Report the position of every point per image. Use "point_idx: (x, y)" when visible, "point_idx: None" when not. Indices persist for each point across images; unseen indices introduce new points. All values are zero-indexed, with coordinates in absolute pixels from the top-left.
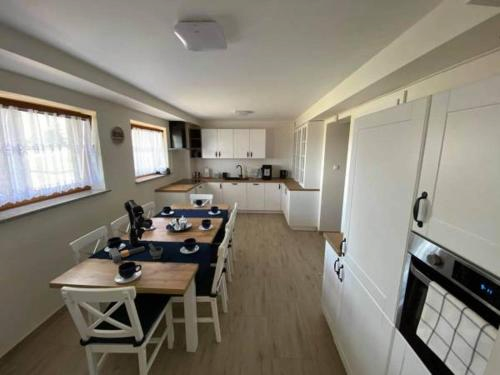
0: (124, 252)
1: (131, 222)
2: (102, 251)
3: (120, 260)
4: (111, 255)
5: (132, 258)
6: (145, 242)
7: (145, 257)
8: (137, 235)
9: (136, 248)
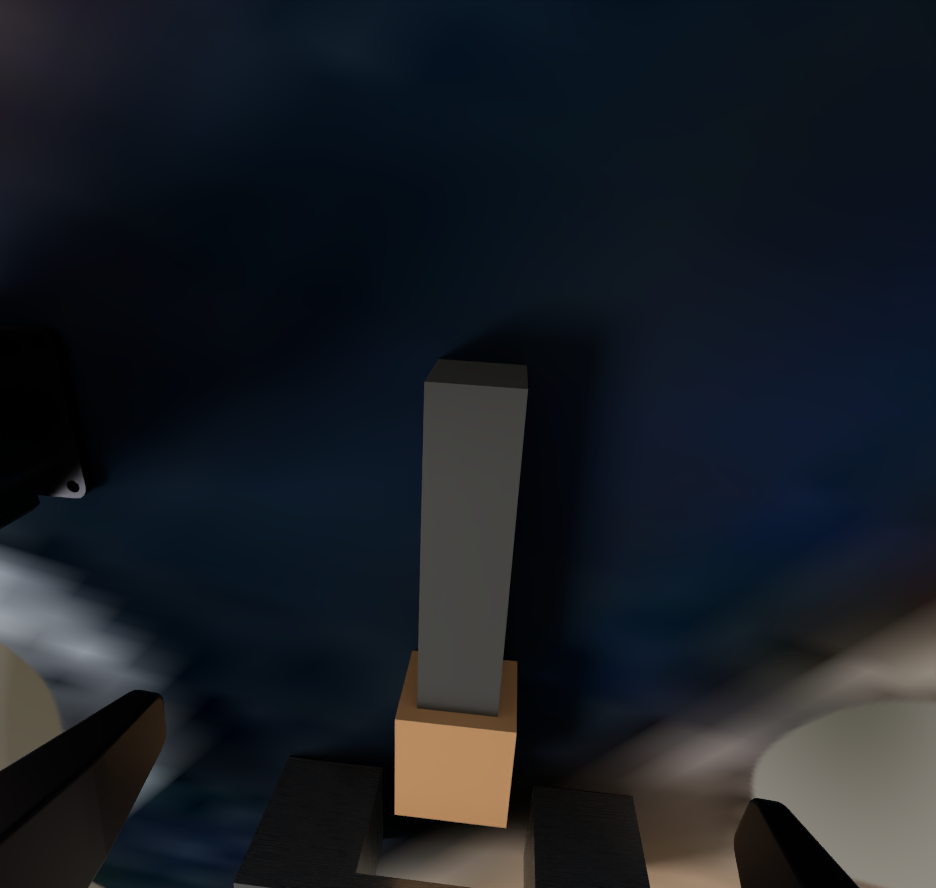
0: (494, 790)
1: None
2: None
3: (633, 819)
4: (373, 868)
5: (696, 667)
6: (16, 150)
7: (902, 493)
8: (140, 780)
9: (438, 555)
